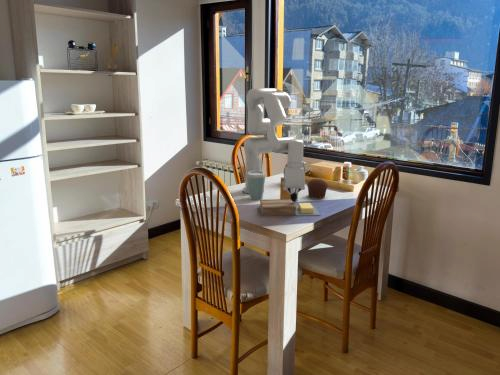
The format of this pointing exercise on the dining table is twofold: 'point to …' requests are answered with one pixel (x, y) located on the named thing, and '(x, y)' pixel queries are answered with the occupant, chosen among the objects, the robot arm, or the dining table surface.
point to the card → (306, 208)
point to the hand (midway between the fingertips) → (293, 200)
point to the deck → (277, 207)
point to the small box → (285, 191)
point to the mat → (307, 213)
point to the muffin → (317, 188)
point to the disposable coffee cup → (256, 184)
